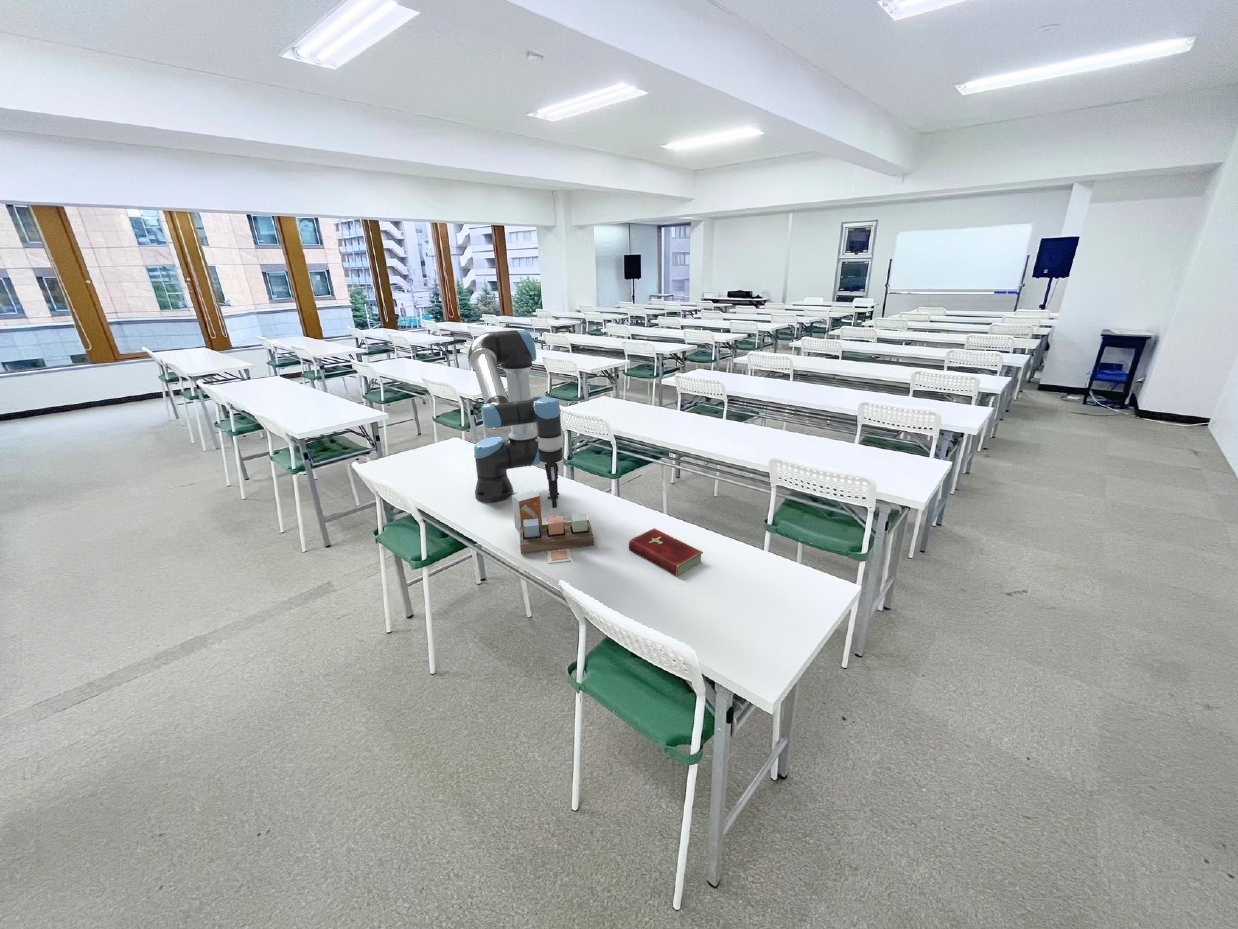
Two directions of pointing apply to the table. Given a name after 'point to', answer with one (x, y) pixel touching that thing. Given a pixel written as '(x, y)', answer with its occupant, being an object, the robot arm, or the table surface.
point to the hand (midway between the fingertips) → (554, 514)
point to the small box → (526, 508)
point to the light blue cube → (531, 527)
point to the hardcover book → (665, 551)
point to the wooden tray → (556, 539)
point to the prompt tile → (559, 556)
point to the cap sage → (579, 522)
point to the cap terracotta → (555, 525)
